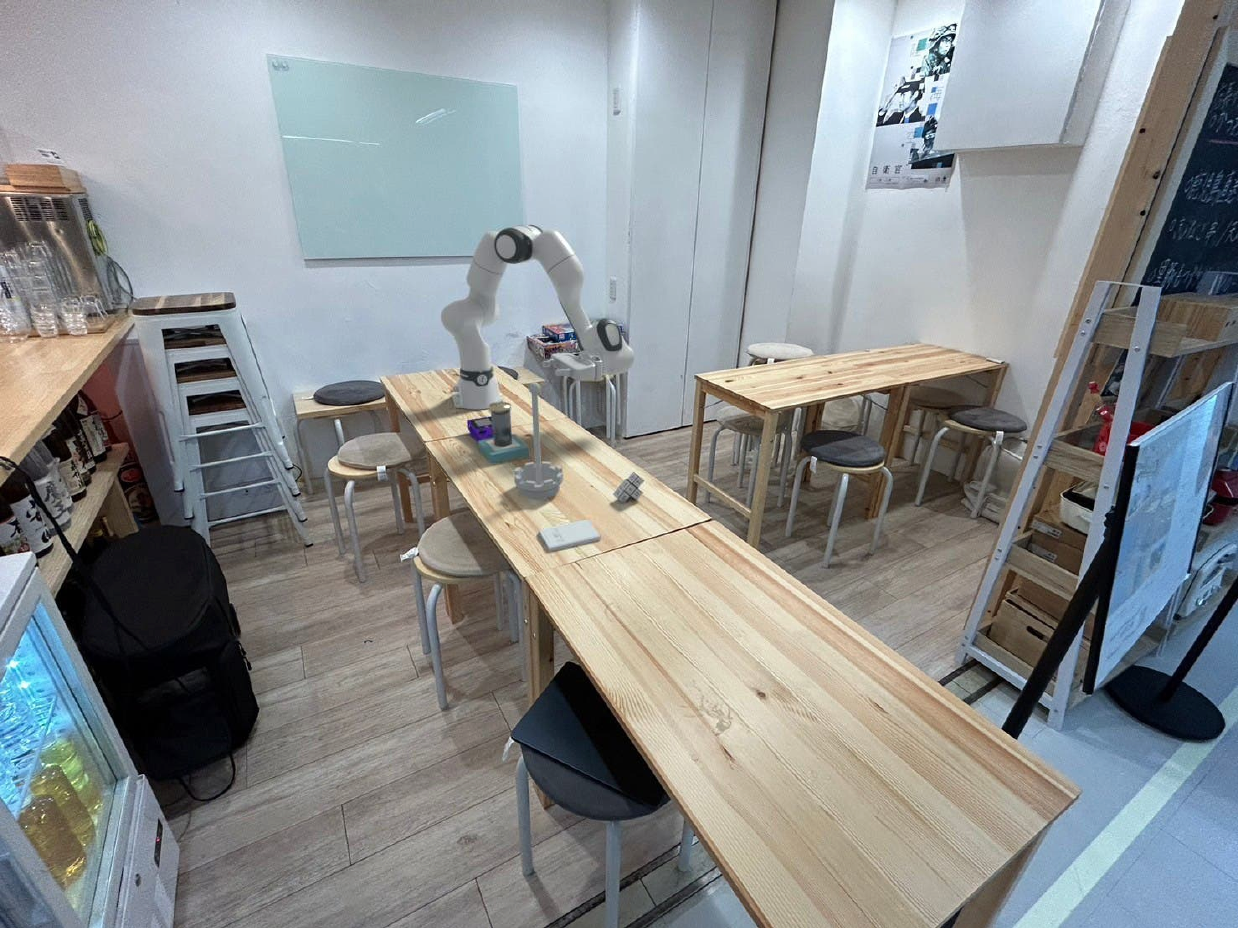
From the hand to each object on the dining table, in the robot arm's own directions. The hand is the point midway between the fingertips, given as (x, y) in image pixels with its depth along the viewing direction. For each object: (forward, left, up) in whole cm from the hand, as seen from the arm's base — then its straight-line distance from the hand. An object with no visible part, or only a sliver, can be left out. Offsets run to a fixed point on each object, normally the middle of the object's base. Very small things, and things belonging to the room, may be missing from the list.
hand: (549, 368), depth 170 cm
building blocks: (+46, +1, -24) cm, 51 cm away
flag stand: (+31, -18, -24) cm, 43 cm away
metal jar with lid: (+4, -18, -20) cm, 27 cm away
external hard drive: (+55, -21, -24) cm, 64 cm away
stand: (+4, -18, -23) cm, 30 cm away
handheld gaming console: (-10, -18, -24) cm, 32 cm away
